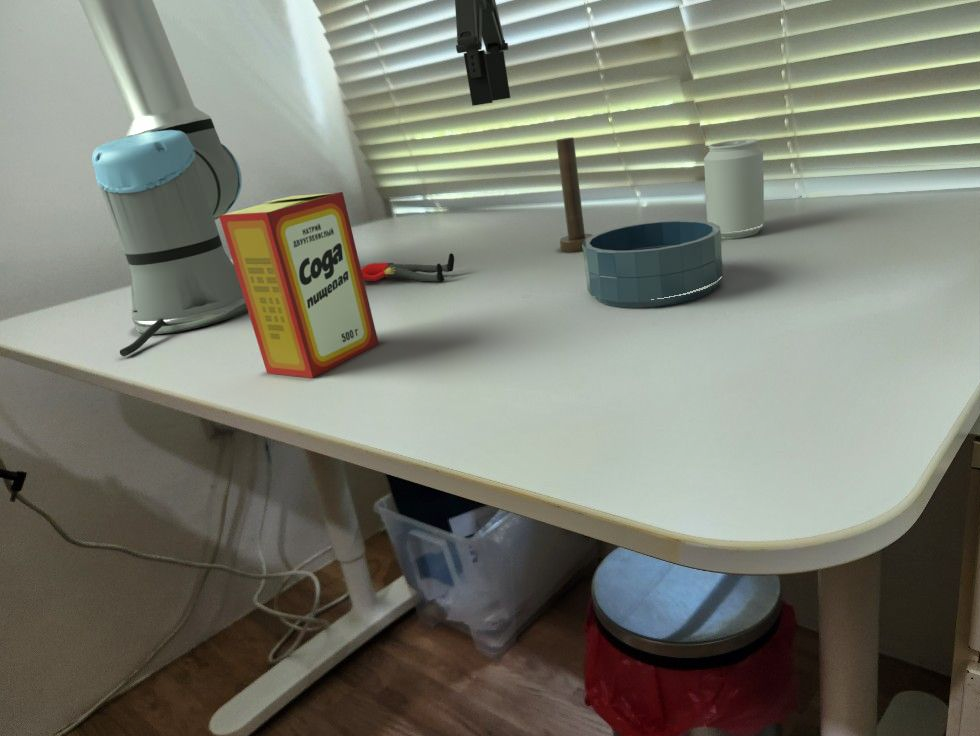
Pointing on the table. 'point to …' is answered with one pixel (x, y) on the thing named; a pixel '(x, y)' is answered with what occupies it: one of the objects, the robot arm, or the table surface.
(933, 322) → the table surface
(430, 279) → the person figure
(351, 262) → the baking soda box
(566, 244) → the muddler
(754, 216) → the can
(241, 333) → the table surface
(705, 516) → the table surface
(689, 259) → the bowl
